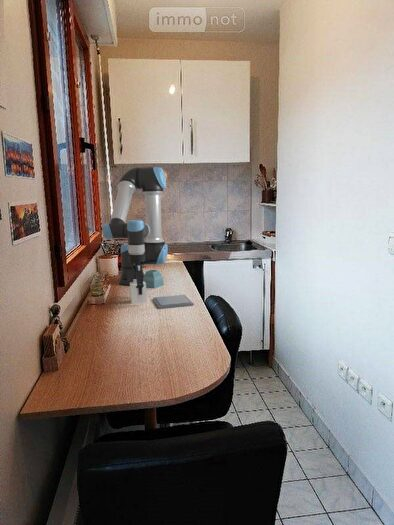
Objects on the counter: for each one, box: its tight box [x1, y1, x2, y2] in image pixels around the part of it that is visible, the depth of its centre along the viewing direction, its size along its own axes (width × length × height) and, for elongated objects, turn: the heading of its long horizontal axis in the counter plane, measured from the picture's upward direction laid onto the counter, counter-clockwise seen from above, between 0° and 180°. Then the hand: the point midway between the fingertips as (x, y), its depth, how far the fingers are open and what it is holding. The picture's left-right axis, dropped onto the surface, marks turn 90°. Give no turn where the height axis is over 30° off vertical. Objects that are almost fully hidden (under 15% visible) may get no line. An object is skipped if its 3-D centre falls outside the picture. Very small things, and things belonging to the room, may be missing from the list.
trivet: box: [152, 294, 194, 310], centre depth 177 cm, size 16×16×1 cm
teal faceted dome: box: [143, 269, 164, 290], centre depth 209 cm, size 9×9×9 cm
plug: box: [129, 279, 148, 305], centre depth 179 cm, size 5×7×11 cm
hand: (138, 297), depth 180 cm, fingers open, 13 cm apart
